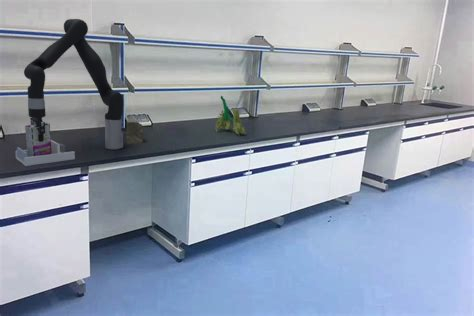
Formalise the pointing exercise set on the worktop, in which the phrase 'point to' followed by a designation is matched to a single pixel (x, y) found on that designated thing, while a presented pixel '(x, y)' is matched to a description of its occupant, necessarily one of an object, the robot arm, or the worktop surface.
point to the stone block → (134, 132)
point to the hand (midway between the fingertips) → (38, 140)
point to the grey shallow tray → (42, 157)
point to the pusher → (57, 147)
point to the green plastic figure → (226, 115)
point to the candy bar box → (33, 142)
